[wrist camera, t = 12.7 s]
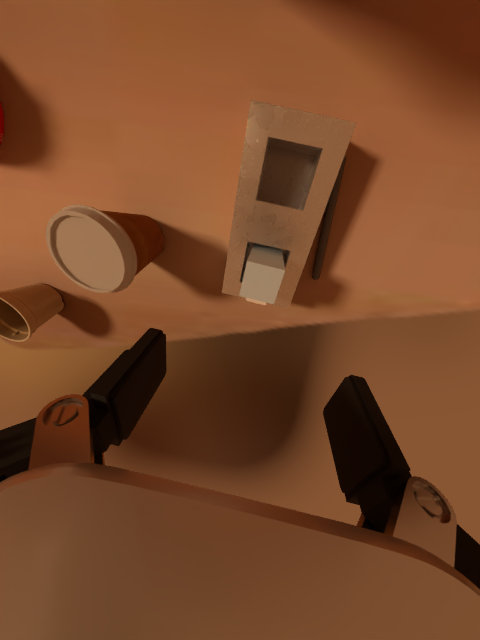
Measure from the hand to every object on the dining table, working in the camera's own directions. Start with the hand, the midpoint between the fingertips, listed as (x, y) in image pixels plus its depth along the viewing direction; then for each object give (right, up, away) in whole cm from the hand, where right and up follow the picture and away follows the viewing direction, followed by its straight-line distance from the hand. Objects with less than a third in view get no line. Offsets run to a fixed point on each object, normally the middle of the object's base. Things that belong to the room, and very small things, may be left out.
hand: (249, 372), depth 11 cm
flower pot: (-39, +7, +30) cm, 50 cm away
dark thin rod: (+11, +16, +17) cm, 26 cm away
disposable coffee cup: (-15, +16, +21) cm, 31 cm away
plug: (+3, +12, +20) cm, 23 cm away
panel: (+4, +16, +18) cm, 25 cm away
